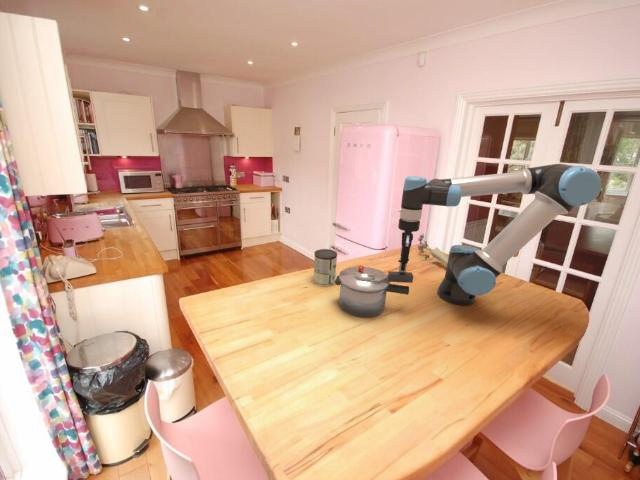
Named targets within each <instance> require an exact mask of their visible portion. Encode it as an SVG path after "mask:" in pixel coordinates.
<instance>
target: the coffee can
mask: <svg viewBox="0 0 640 480" xmlns="http://www.w3.org/2000/svg"><path fill="white" fill-rule="evenodd" d="M313 255H314V261H313V262H314V265H313V266H314V267H313V283H314V284H315V285H317V286H321V287H330V286H333V285H335V280H336V278H337V276H336V275H337V274H336V273H337V260H338V252H337V251H336V250H333V249H328V248H321V249H316V250H315V251H314V254H313Z"/></svg>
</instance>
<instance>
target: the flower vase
mask: <svg viewBox="0 0 640 480" xmlns="http://www.w3.org/2000/svg"><path fill="white" fill-rule="evenodd" d="M424 239H425V236H424V234H422V235H421V234H419V237H418V241H419V244H418V246H417V249H418V251H420V252H419V254H422V253H425V254H424V255H423V257H424V259H425V260H427V259H428V258H430V254H431V256H432V257H433V258H434V259H436V260H437V261H439V262H440V263H443V264H444V266H446V267H447V263H448V258H449V257H447V256H446V254H445V253H443V252H442V251H441V250H440V249H439V247H437V246H436V247H435V248H434V249H432V250H431V248H430V247H429V245H428V243H427V242H428V241H427V240H426V241H425V240H424ZM425 249H426V250H428V251H429V252H430V253H429V254H428V252H425V251H424V250H425ZM426 253H427V254H426Z"/></svg>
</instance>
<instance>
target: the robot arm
mask: <svg viewBox="0 0 640 480" xmlns="http://www.w3.org/2000/svg"><path fill="white" fill-rule="evenodd" d="M601 190H602V179H601V176H600V175H599V174H598V172H597V171H595V170H594V169H592V168H590V167H586V166H584V165H571V164H564V163H555V164H554V163H552V164H548V165H547V164H546V165H541V166H540V165H539V166H532V167H526V168H523V169H522V170H521V171H514V172H513V171H512V172H504V173H493V174H483V175H474V176H473V175H472V176H461V177H451V178H444V179H441V178H440V179H439V178H432V179H430V180H427V178H426V177H423V176H417V175H415V176H414V175H413V176H410V175H409V176H407V177H406V178H405V179H404V183H403V188H402V196H401V204H400V205H401V206H400V209H398V212H399V219H398V226H397V227H398V229H399V230H401V231H402V232H401V249H400V258H399V260H398V263H399V266H398V272H407V266H408V263H409V261H410V258H409V257H410V251H411V247H412V243H413V239H414V234H413V233H414V232H419V231H420V225H421V219H422V213H423V206H424V205H427V206H428V205H429V206H441V207H447V208H448V207H458V205H460V202H461V199H462V197H463V198H465V197H476V196H489V195H501V194H514V193H521V194H522V195H534V199H533V200H532V201H531V202H530V203H529V204H528V205H527V206H526V207H525V208H524V209H523V210H522V211H520V213H519V214H518V215H517V216H516V217H514V219H513V220H511V221H510V223H508V224H507V225H506V226H505V227H504V228H503V229H502V230H501V231H500V232H499V233H498V234H497V235H496V236H495V237H493V239H492V240H491V241H490V242H489V243H488V244H487V245H486V246H484V247H483V248H482V249H480V248H478V247H475V246H470V245H464V244H454V245H452V246H451V247H450V249H449V252H448V257H447V258H448V263H447V266H446V269H445V274H444V278H443V279H442V281H441V282H440V284H439V286H438V287H437V295H438V297H440V298H441V299H442V300H444V301H446V302H448V303H451V304H454V305H459V306H470V305H472V304H474V303H475V301H476V298H477V297H476V296H484V295H487V294H488V293H491V292H492V290H494V289H495V287H496V286H497V285H496V284H497V278H498V277H499V276H500V275H501V274H502V273H503V266H504V265H505V264H506V263H507V262H509V260H511V258H512V259H513V257H514V256H515V255H516V254H518V252H519V251H521V250H522V249H523V248H524V247H525V246H526V245H527V244H528V243H530V241H531V240H533V239H534V238H535V237H536V236H537V235H538V234H539V233H541V231H543V230H544V229H545V228H546V227H547V226H548V225H549V224H550V223H551V222H552V221H554V220H555V218H557V216H560V215H568V213H570V212H571V211H573V209H575V207H580V206H581V207H582V206H586V205H588V204H589V203H592V202H593V201H595V199H596V198H597V197H598V196H599V195H600V192H601ZM412 232H413V233H412Z"/></svg>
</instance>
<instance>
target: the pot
mask: <svg viewBox="0 0 640 480" xmlns="http://www.w3.org/2000/svg"><path fill="white" fill-rule="evenodd" d="M334 285H336V286H340V291H339V301H338V304H339V307H340V309H341V310H342V311H343V312H344V313H346V314H348V315H349V316H353V317H355V318H361V319H369V318H372V319H373V318H376V317H379V316H381V315H382V314H383V313H384V311H385V305H386V300H387V299H386V298H387V293H394V294H400V295H409V294H410V286H408V285H401V284H394V283H390V285H389V287H388V288H387V289H385V290H383V291H380V292H360V291H355V290H352V289H350V288H347V287H346V286H344V285H343V284H342V283H341V282H340V280H339V275H337V276H336V278H335V283H334Z"/></svg>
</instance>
